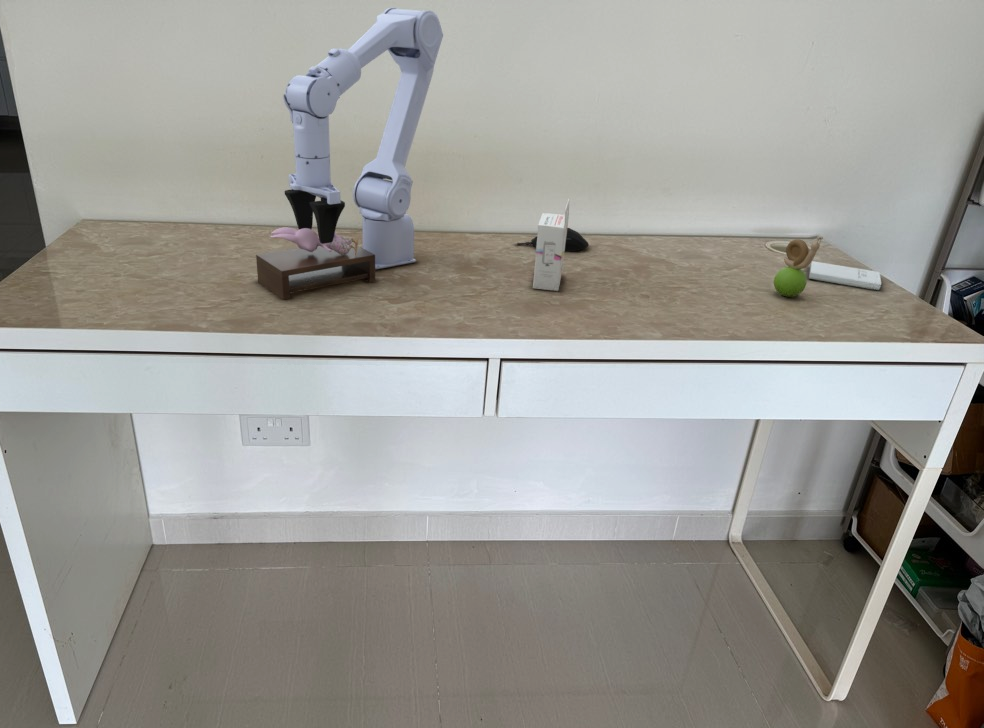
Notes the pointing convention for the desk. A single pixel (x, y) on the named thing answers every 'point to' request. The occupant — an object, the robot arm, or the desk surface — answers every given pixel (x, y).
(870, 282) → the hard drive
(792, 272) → the snail figurine
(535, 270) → the ink cartridge box
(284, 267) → the rack
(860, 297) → the desk surface
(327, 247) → the rabbit figure
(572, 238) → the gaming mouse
